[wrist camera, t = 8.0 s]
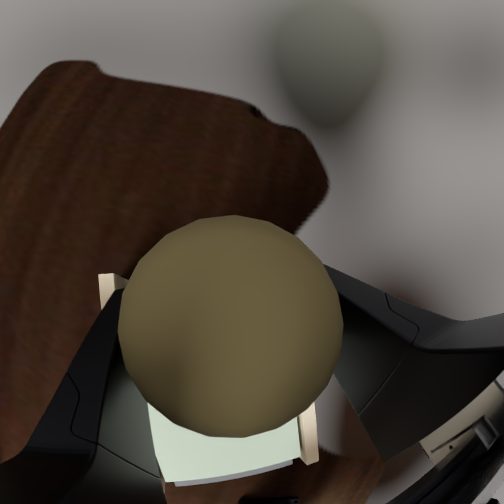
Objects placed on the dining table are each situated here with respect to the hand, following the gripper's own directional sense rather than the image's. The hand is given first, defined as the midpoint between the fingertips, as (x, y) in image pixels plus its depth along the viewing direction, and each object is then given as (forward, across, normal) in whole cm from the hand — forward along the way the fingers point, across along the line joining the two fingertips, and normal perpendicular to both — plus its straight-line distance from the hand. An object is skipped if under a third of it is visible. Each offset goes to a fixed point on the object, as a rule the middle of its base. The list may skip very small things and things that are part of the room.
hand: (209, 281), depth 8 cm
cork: (+4, 0, +6) cm, 7 cm away
